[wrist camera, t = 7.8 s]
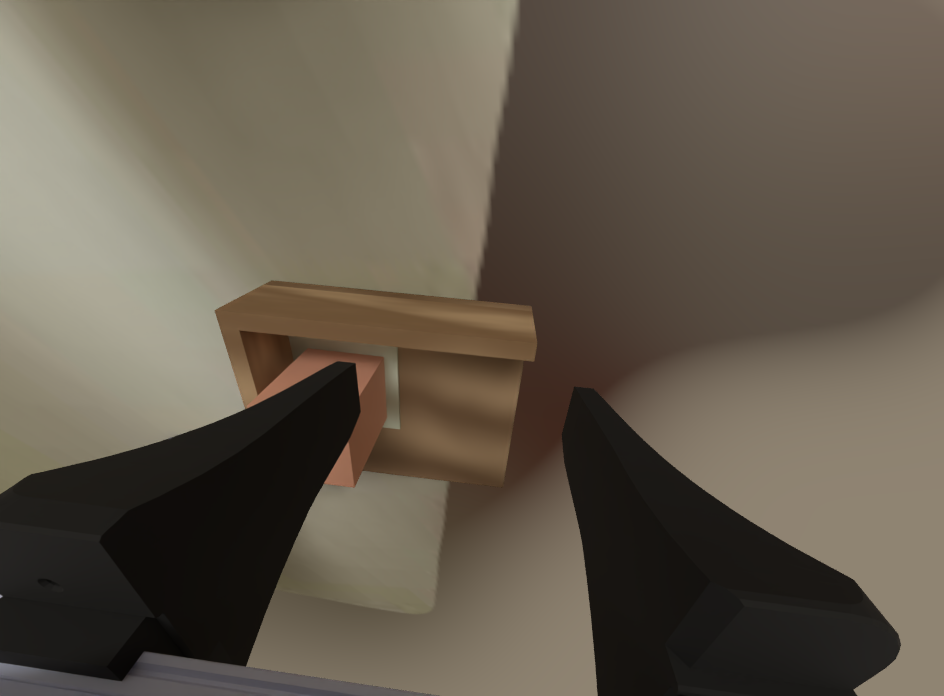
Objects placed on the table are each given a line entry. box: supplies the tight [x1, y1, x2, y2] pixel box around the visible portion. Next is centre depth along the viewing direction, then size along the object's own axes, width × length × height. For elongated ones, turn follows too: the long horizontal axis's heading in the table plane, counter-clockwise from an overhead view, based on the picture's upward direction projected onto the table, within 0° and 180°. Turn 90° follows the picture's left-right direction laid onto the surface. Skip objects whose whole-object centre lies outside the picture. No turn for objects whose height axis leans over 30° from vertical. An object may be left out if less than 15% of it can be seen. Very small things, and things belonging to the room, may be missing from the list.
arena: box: [215, 281, 537, 488], centre depth 23 cm, size 15×16×5 cm
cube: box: [247, 348, 387, 488], centre depth 21 cm, size 5×5×6 cm
